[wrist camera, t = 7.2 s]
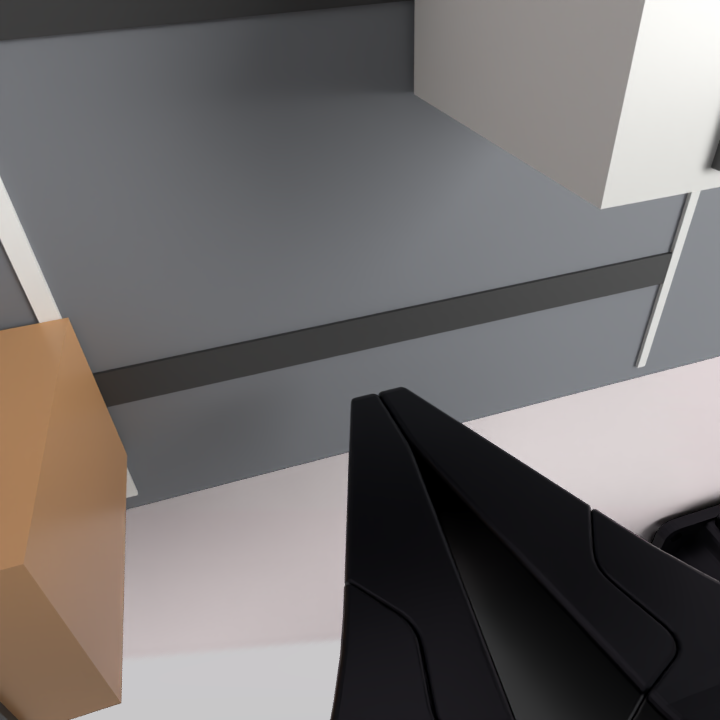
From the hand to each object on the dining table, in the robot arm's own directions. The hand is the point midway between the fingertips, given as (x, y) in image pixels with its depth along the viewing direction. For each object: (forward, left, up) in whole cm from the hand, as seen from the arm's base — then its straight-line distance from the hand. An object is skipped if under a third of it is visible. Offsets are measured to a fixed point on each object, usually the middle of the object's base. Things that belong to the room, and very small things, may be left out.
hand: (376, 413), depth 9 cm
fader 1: (0, +5, -2) cm, 6 cm away
